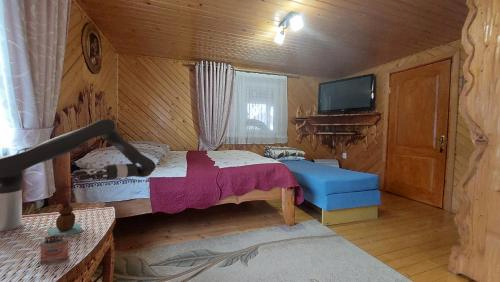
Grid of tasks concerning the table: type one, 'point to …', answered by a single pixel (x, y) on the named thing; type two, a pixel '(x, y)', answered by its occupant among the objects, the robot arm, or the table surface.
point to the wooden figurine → (65, 217)
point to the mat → (72, 231)
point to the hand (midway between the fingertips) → (76, 175)
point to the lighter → (54, 249)
